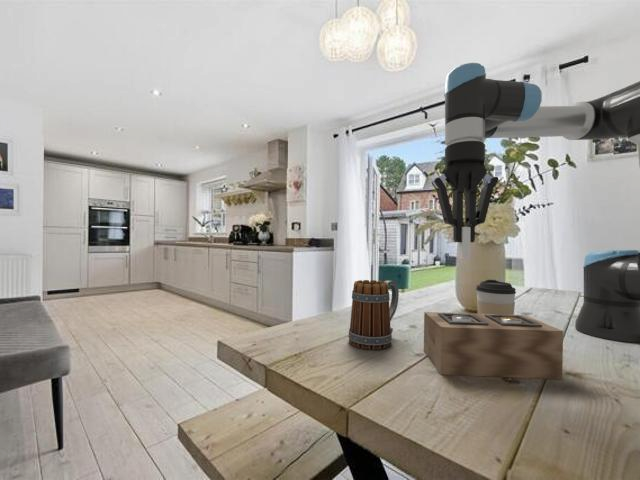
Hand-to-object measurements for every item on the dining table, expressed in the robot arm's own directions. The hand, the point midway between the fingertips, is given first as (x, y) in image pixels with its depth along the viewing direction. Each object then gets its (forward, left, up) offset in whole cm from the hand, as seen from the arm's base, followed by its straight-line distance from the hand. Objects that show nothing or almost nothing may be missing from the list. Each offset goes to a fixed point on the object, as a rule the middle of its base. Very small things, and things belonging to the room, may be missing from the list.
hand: (463, 258), depth 64 cm
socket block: (-5, 0, -22) cm, 22 cm away
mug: (+16, -12, -22) cm, 30 cm away
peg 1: (0, 0, -21) cm, 21 cm away
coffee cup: (-15, -17, -22) cm, 31 cm away
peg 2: (-10, 0, -21) cm, 23 cm away
